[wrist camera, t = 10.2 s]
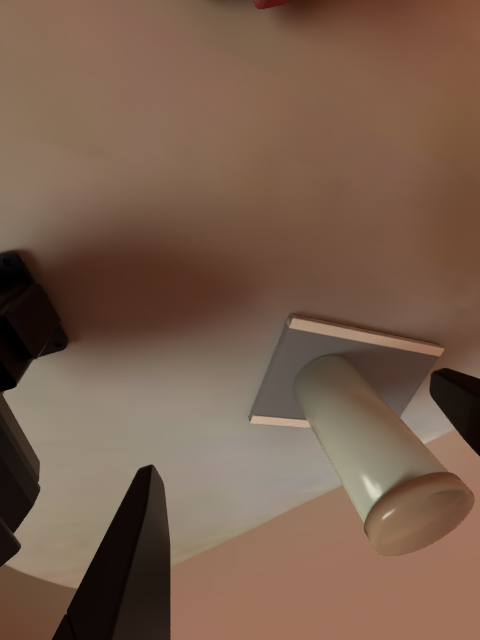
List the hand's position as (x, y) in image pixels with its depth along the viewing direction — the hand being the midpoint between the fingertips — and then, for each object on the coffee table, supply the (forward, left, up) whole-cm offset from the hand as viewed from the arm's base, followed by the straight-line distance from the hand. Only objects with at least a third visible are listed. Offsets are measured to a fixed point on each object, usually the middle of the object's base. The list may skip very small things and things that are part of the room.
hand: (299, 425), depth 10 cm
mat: (+8, -12, -13) cm, 19 cm away
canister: (+6, -11, -12) cm, 17 cm away
